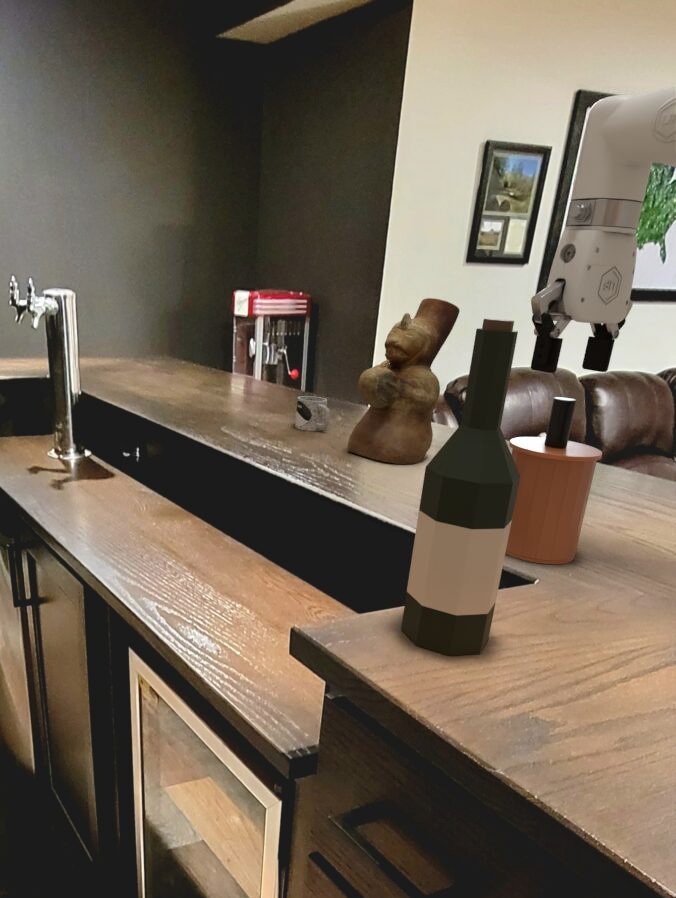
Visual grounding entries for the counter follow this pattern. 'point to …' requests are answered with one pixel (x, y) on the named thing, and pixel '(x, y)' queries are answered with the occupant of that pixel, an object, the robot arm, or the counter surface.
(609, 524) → the counter surface
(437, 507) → the wine bottle
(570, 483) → the cup
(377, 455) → the ceramic vessel
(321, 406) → the mug
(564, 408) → the shaker lid
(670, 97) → the robot arm
